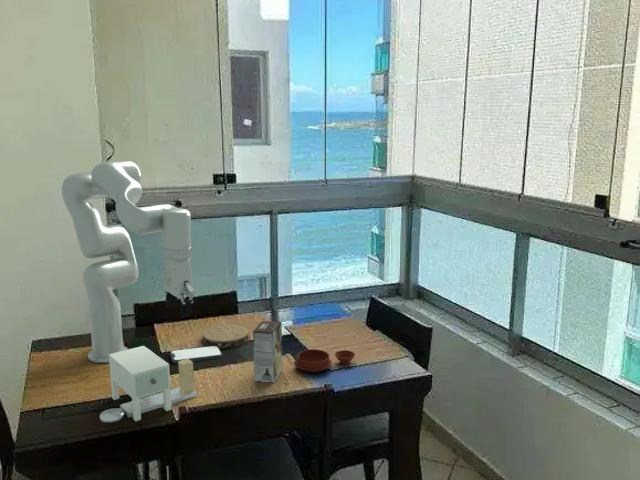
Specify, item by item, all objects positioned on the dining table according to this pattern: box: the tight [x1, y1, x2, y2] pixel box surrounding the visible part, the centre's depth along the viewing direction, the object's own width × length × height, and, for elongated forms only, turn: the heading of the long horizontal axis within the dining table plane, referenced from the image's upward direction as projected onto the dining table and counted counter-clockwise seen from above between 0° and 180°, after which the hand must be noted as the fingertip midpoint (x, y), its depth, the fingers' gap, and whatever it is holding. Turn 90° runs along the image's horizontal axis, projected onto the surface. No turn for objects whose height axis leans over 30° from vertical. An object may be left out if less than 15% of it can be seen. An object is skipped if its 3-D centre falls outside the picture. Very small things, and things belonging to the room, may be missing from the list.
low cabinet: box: [108, 345, 173, 422], centre depth 159 cm, size 18×10×13 cm, turn 39°
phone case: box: [169, 346, 223, 365], centre depth 193 cm, size 9×2×16 cm
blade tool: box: [119, 359, 198, 418], centre depth 161 cm, size 6×20×10 cm, turn 128°
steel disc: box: [99, 407, 125, 424], centre depth 154 cm, size 6×6×1 cm
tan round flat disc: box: [202, 324, 249, 349], centre depth 207 cm, size 16×16×3 cm
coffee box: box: [252, 320, 283, 384], centre depth 177 cm, size 9×6×16 cm
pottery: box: [293, 349, 356, 373], centre depth 185 cm, size 12×20×4 cm, turn 113°
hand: (179, 311), depth 167 cm, fingers open, 9 cm apart
